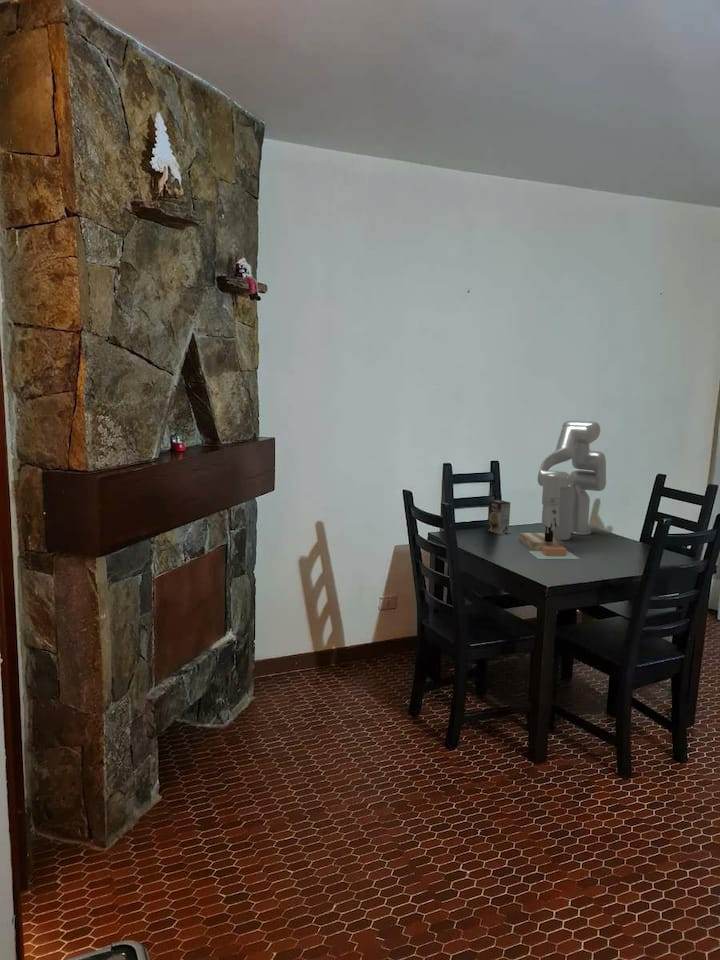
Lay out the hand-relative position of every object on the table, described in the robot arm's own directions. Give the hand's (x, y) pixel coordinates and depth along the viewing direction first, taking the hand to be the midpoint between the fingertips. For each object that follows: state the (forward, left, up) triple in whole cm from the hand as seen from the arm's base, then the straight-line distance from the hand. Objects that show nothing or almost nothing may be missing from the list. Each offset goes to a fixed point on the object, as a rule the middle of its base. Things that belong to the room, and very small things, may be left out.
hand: (548, 541), depth 312 cm
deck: (0, -11, -5) cm, 11 cm away
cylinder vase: (-14, -28, -5) cm, 31 cm away
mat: (0, +7, -5) cm, 8 cm away
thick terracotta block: (-1, +6, -3) cm, 7 cm away
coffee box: (+12, -40, -5) cm, 42 cm away
